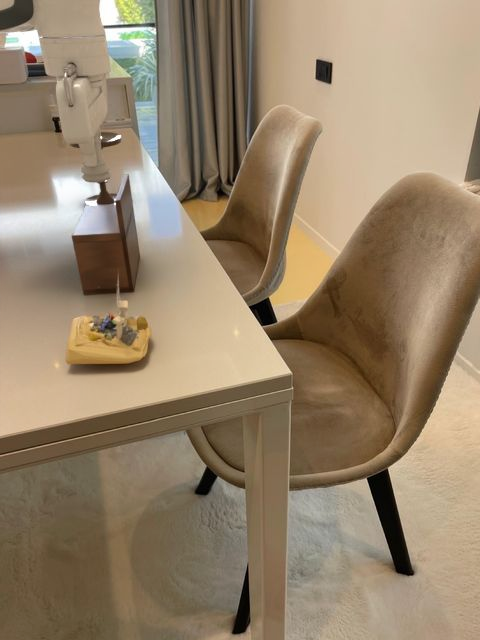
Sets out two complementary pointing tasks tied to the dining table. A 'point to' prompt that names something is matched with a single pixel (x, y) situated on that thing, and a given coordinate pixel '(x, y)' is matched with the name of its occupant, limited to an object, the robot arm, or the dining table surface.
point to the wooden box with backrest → (108, 245)
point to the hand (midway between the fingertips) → (94, 161)
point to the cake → (108, 338)
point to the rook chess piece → (98, 171)
